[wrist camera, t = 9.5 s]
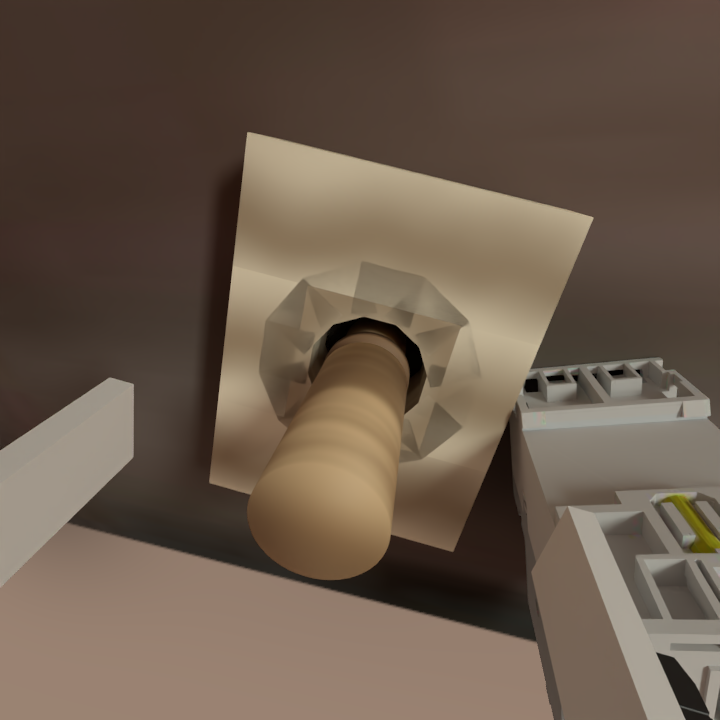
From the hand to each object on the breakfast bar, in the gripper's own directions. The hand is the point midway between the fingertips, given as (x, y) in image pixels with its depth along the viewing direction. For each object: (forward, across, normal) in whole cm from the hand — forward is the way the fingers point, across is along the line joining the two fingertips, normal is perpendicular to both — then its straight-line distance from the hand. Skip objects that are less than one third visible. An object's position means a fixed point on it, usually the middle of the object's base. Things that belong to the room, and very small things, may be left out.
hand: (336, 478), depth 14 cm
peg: (+12, 0, -1) cm, 13 cm away
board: (+12, 0, -1) cm, 13 cm away
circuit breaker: (+13, +13, -5) cm, 19 cm away
